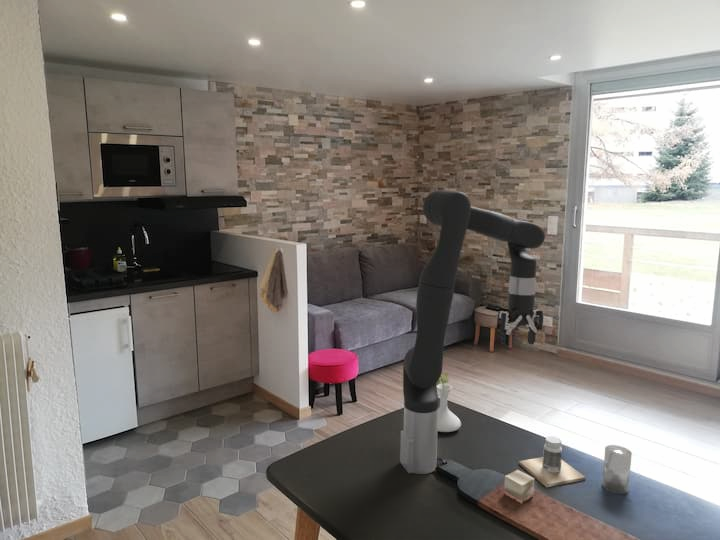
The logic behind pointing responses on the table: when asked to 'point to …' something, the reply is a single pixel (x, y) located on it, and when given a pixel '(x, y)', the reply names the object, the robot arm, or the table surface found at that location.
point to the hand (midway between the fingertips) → (518, 344)
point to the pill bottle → (552, 454)
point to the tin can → (616, 469)
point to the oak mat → (549, 478)
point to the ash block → (519, 484)
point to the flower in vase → (446, 408)
